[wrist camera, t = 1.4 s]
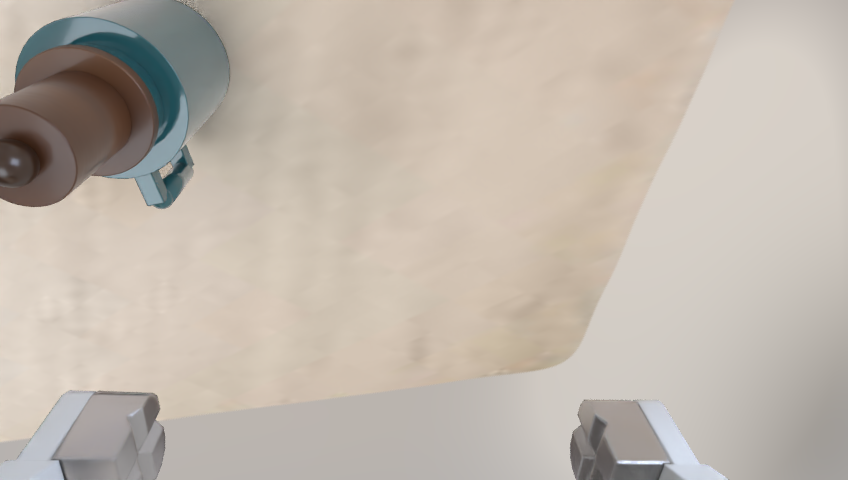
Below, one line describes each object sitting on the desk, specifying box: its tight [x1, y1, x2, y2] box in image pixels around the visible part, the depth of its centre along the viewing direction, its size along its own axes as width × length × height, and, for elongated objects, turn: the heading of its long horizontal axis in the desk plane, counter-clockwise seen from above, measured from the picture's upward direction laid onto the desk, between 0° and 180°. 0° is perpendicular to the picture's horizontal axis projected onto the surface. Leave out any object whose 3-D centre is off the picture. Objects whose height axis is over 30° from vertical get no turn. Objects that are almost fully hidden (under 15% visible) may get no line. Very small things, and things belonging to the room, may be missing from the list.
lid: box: [0, 45, 159, 207], centre depth 27 cm, size 7×7×9 cm
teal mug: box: [15, 0, 230, 209], centre depth 36 cm, size 12×9×12 cm
